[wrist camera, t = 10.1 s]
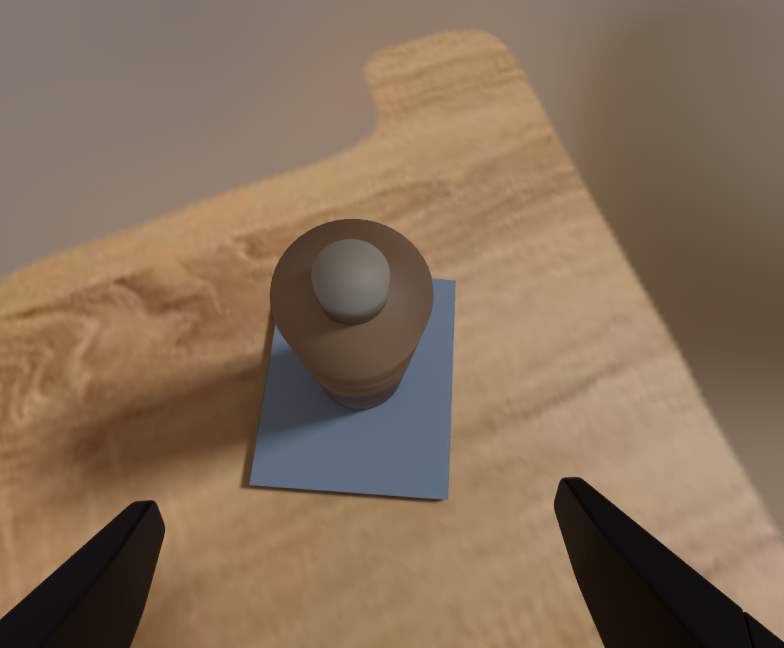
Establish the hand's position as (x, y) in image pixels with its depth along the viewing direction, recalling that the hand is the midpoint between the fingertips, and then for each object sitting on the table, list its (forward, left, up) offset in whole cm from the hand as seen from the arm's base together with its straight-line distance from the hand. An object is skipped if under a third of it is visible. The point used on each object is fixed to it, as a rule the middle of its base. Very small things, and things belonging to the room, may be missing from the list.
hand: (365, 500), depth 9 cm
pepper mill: (+5, +1, -12) cm, 14 cm away
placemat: (+5, +1, -13) cm, 14 cm away
